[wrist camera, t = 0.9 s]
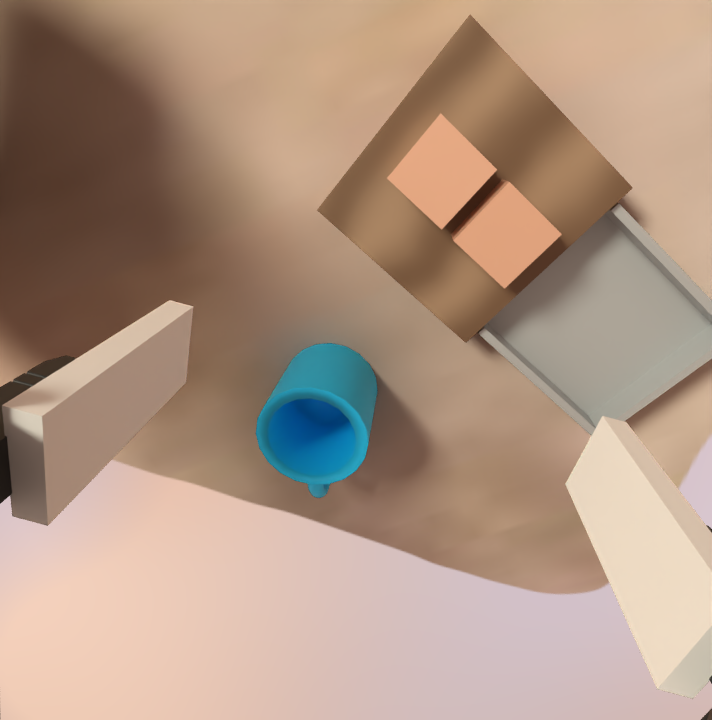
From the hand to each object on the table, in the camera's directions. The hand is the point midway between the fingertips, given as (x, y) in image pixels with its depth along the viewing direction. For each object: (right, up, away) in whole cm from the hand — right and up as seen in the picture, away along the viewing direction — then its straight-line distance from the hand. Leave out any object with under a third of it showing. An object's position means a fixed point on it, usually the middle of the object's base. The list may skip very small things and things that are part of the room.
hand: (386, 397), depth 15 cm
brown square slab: (+7, +13, +19) cm, 24 cm away
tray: (+17, +4, +21) cm, 28 cm away
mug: (-3, -3, +27) cm, 28 cm away
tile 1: (+9, +10, +16) cm, 21 cm away
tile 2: (+4, +13, +15) cm, 20 cm away
